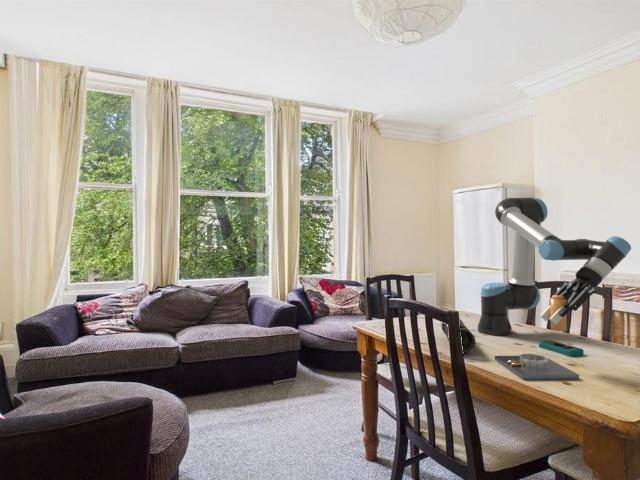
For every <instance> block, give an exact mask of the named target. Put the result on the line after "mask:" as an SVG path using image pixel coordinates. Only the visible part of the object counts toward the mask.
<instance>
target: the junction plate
mask: <svg viewBox="0 0 640 480" xmlns="http://www.w3.org/2000/svg"><path fill="white" fill-rule="evenodd" d="M494 361H495V362H497V363H498V364H499V365H501V366H503V368H506V369H507V370H509V372H511V373H512V374H514V375H516V376H517V377H518V378H520V379H521V380H523V381H526V380H527V381H528V380H531V381H532V380H533V381H534V380H535V381H537V380H538V381H539V380H541V381H542V380H545V381H546V380H547V381H549V380H551V381H552V380H553V381H554V380H556V381H557V380H559V381H561V380H580V374H578V373H577V372H575V371H573V370H571V369H569V368H567V367H565V366H563V365H562V364H560V363H557V362H556V361H554V360H552V359H550V358H548V357H547V356H545V355H540V354H537V353H536V354H534V353H522V354H519V355H494Z"/></svg>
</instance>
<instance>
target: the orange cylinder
mask: <svg viewBox="0 0 640 480" xmlns="http://www.w3.org/2000/svg"><path fill="white" fill-rule="evenodd" d="M549 300H550V301H549V306H550V318H551V317H552V316H553V314H554V313H555V312H556V311H557V310H558V309H559V308H560V307H561V306H564V305H563V304H566V302H567V300H566V299H564V296H560V295H554V294H553V295H551V297H550V298H549ZM564 307H565V306H564ZM550 318H549V321H550V330H552V331H555V332H567V314H566V315H565V316H564V317H563V318H562V319H561V320H560V321H559V322H558V323H557V324H556V325H555V324H554V323H553V322H552V321H551V320H550Z"/></svg>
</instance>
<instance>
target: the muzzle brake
mask: <svg viewBox="0 0 640 480" xmlns="http://www.w3.org/2000/svg"><path fill="white" fill-rule="evenodd" d="M441 330H442V332H443V333H444V335H445V336H446V337H447V338H448V327H447V325H446V324H444V323H442V322H441ZM460 332H461V337H462V346H463V352H464V354H463V355H465V354H466V353H469V352H470V351H472V350H473V349H474V348H475V347H476V346H475V345H476V338H475V335H474V334H473V332H471V331H470V329H469V328H468V327H467V326H466V324H464V322H463V321H462V319H460Z"/></svg>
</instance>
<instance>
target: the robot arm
mask: <svg viewBox="0 0 640 480" xmlns="http://www.w3.org/2000/svg"><path fill="white" fill-rule="evenodd" d="M494 211H495V212H494V214H495V218H496V219H497V221H498V222H499V223H500V224H501V225H502V226H505V227H509V228H511V229H512V230H513V231H515V237H514V248H513V249H514V250H513V261H512V274H511V275H512V276H511V278H509V279H508V282H507V283H505V282H491V283H490V282H489V283H485V284H484V285H482V287H481V290H480V298H481V300H480V301H481V302H480V303H481V305H480V306H481V307H480V308H481V309H480V311H481V312H480V313H481V315H480V317H479V321H478V323H477V332H479V333H481V334H485V335H491V336H492V335H493V336H510V335H511V334H512V333H513V328H512V325H511V322H510V320H509V316H508V315H509V312H508V311H512V310H530V309H534V308H536V307H537V306H538V305H539V302H540V299H541V292H540V290H539V288H538V287H537V286H536V282H535V281H534V280H533V275H534V274H533V271H534V260H535V259H534V258H535V251H536V250H535V247H536V248H537V249H538V253H539V255H540V257H541V258H542V260H545V261H554V262H555V261H570V260H573V261H575V260H577V261H578V260H580V261H583V260H586V262H585V263H584V264H583V265H582V267H580V269H578V270H577V271H576V272H575V279H572V281H571V282H568V281H565V282H564V283H563V284H562V286H561V287H560V288H559V289H558V290H557V291H556V293H554V294H553V295H560V296H564V299H566V304H563V305H564V306H565V307H564V306H561V307H560V308H559V309H558V310H557V311H556V312H555V313H554V314H553V316H552V317H551V318H550V305H549V306H547V308H546V309H545V310H543V311H542V313H541V314H540V315H539V316H540V317H541V318H542V319H543V320H544V321H545V322H547V321H550V320H551V321H552V322H553V323H554V324H555V325H556V324H557V323H558V322H559V321H560V320H561V319H562V318H563V317H564V316H565V315H566V316H567V314H568V313H570V312H572V311H574V312H575V311H577V310H579V308H581V307H582V305H583V304H584V303H586V301H587V300H588V299H589V298H590V297H592V295H594V294H595V293H596V292H597V290H596V289H595V288H597V287H598V286H599V285H600V284H601V283H602V282H603V280H604V279H605V278H606V277H608V275H609V274H610V273H611V272H612V271H613V270H614V269H615V268H616V267H617V266H618V265H619V264H620V263H621V262H622V260H624V258H626V257H627V256H628V254H629V253H630V251H631V250H632V247H631V244H630V243H629V242H628V240H626V239H624V238H622V237H620V236H616V235H614V236H613V235H612V236H610V237H608V238H607V239H606V241H599V240H591V239H587V238H576V239H561V238H560V237H558V236H556V235H554V234H553V233H552V232H550V231H548V229H545V228H544V227H543V226H542V225H541V223H543V222H545V220H547V217H548V207H547V205H546V203H545V202H544V201H543V200H542V199H540V198H537V197H508V198H504V199H501V201H500V202H499V203H498V204H497V205H496V207H495V210H494ZM549 302H550V299H549Z"/></svg>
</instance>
